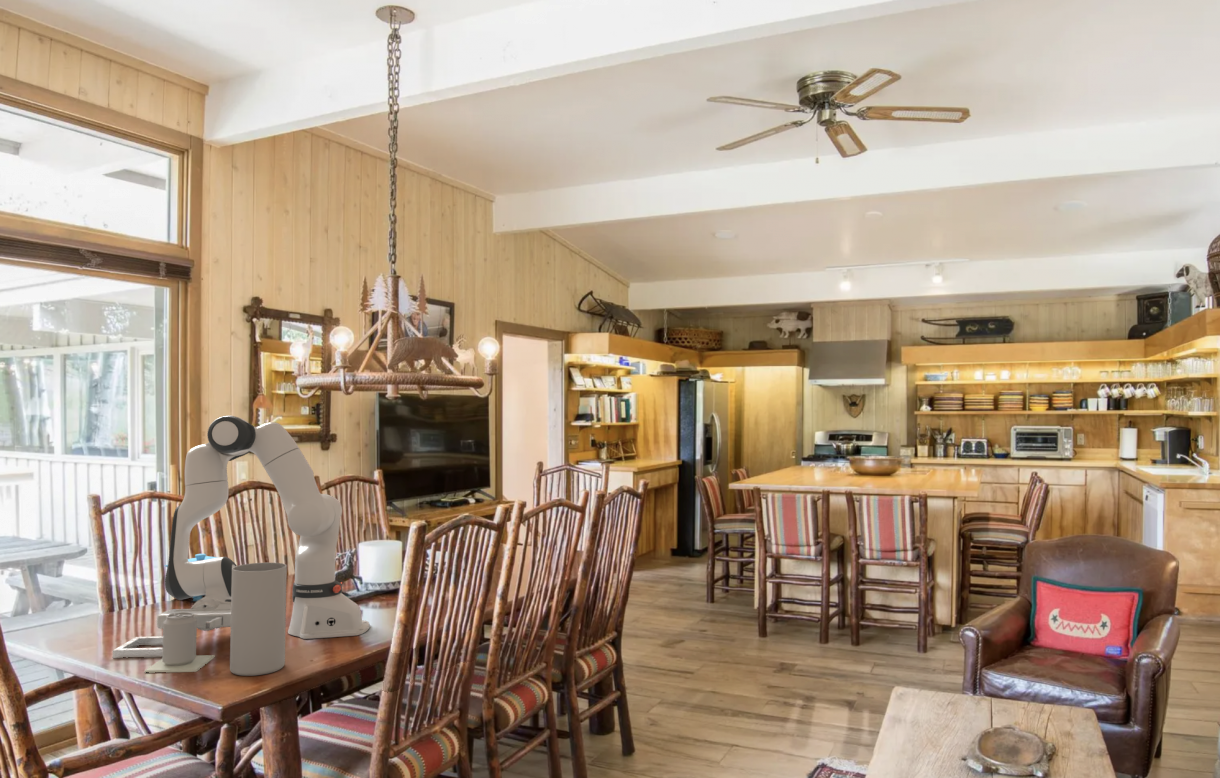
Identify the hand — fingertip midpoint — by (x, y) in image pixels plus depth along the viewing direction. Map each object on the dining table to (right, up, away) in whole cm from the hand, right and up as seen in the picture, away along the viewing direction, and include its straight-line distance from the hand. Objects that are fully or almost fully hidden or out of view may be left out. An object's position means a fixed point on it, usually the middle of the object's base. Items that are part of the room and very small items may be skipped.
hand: (189, 625), depth 213 cm
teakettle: (-33, -11, +71) cm, 79 cm away
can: (0, -8, -5) cm, 9 cm away
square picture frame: (-14, -9, +8) cm, 18 cm away
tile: (0, -8, -5) cm, 10 cm away
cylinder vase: (+21, -9, -8) cm, 24 cm away
